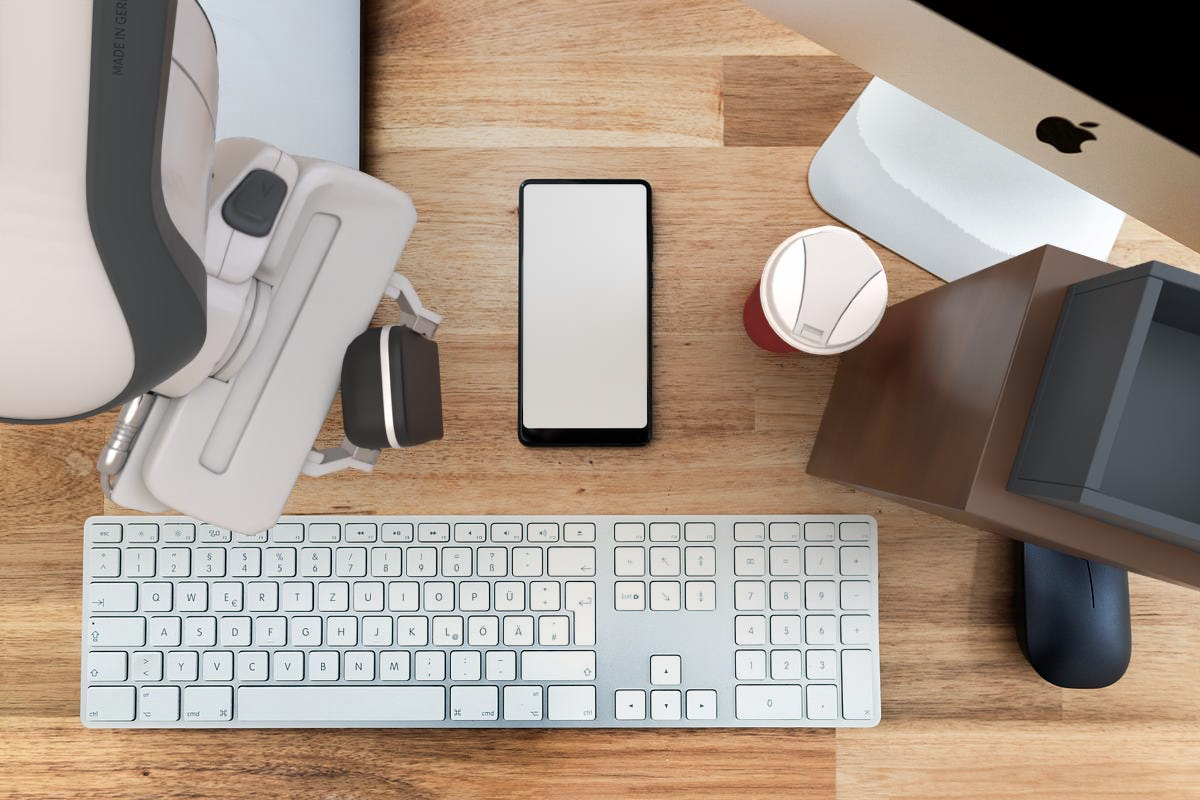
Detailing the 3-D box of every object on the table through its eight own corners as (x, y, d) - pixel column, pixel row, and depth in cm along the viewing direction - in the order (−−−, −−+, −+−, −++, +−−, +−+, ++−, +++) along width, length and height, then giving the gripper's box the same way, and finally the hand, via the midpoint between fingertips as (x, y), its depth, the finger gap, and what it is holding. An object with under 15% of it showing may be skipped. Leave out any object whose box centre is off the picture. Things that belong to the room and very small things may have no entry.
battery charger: (381, 341, 57) (326, 323, 46) (438, 337, 57) (398, 318, 46) (388, 446, 57) (335, 454, 46) (445, 442, 57) (407, 450, 46)
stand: (852, 320, 65) (1047, 242, 37) (1031, 377, 65) (1362, 343, 37) (804, 473, 64) (963, 512, 36) (983, 530, 64) (1281, 614, 36)
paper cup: (808, 383, 65) (867, 372, 51) (713, 345, 65) (744, 324, 51) (846, 286, 65) (914, 248, 51) (751, 248, 65) (793, 200, 51)
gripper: (94, 523, 39) (352, 573, 49) (285, 114, 39) (504, 245, 49) (66, 475, 44) (307, 530, 53) (238, 109, 44) (446, 230, 54)
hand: (403, 391), depth 51 cm, fingers closed on battery charger, 7 cm apart
